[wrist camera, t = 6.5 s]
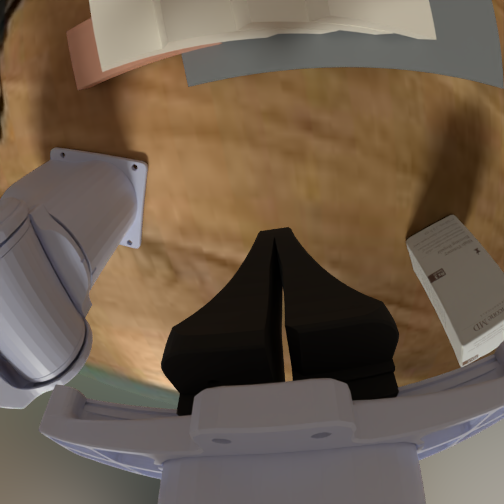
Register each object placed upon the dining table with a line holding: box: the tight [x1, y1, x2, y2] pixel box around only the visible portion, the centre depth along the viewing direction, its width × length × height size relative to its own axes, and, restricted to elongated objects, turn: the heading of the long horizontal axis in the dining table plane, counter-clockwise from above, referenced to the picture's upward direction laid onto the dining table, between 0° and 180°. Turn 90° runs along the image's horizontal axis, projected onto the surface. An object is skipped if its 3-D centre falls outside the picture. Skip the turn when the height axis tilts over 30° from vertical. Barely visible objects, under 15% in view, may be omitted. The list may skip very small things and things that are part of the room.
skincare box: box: [406, 215, 504, 367], centre depth 18 cm, size 6×4×12 cm
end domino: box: [66, 17, 222, 90], centre depth 13 cm, size 2×5×10 cm
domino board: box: [182, 0, 504, 89], centre depth 12 cm, size 26×10×1 cm, turn 99°
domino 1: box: [89, 0, 276, 72], centre depth 10 cm, size 2×5×10 cm
